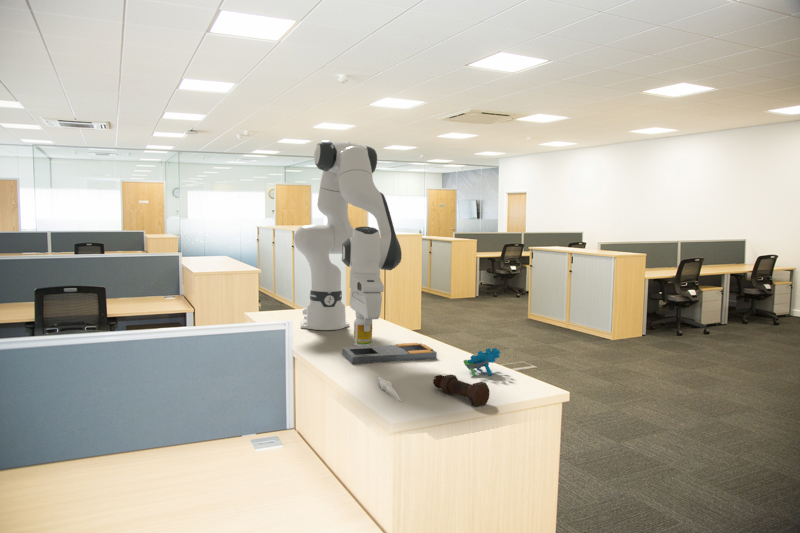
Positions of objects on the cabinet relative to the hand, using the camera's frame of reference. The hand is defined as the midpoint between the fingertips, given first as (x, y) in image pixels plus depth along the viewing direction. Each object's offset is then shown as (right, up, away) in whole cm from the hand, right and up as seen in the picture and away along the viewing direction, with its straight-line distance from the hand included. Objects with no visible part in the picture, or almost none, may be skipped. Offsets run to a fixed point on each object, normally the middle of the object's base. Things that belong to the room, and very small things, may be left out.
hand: (363, 328), depth 154 cm
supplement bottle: (0, -5, 0) cm, 5 cm away
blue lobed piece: (+33, -11, -11) cm, 37 cm away
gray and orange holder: (+8, -9, +3) cm, 12 cm away
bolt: (+25, -12, -32) cm, 42 cm away
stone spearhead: (+8, -12, -30) cm, 34 cm away
